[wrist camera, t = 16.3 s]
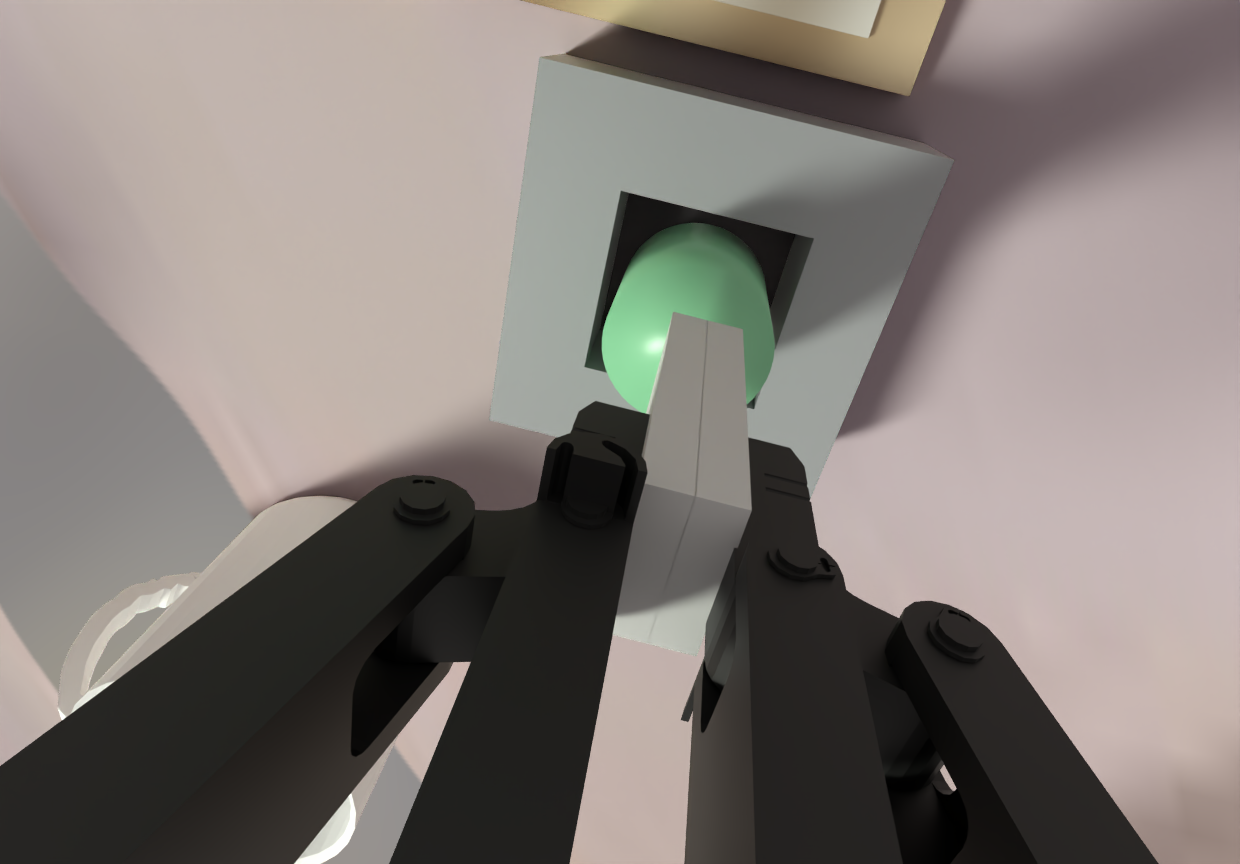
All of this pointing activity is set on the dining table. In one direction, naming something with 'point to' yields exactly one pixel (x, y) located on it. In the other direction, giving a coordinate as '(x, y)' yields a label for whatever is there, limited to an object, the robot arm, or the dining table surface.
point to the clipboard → (791, 32)
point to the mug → (193, 600)
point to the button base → (720, 184)
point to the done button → (686, 305)
